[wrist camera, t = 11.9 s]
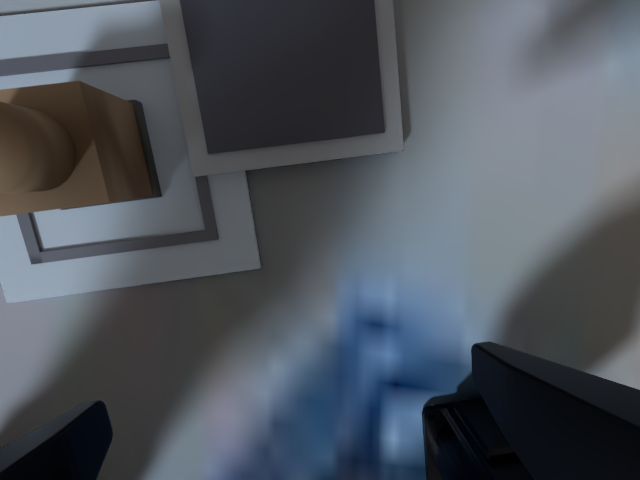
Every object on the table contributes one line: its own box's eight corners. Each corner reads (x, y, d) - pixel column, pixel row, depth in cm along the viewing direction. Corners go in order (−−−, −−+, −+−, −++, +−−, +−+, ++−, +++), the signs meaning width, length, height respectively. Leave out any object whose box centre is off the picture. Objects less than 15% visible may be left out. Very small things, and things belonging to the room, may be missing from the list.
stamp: (162, 196, 18) (74, 213, 11) (70, 208, 18) (-80, 233, 11) (141, 102, 18) (30, 52, 10) (44, 114, 17) (-140, 71, 10)
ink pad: (397, 151, 19) (405, 150, 18) (199, 176, 19) (191, 176, 17) (380, -76, 17) (387, -99, 16) (155, -54, 17) (142, -76, 15)
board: (261, 266, 20) (260, 269, 19) (13, 300, 19) (4, 304, 19) (217, -2, 17) (214, -8, 17) (-75, 28, 17) (-89, 22, 16)
